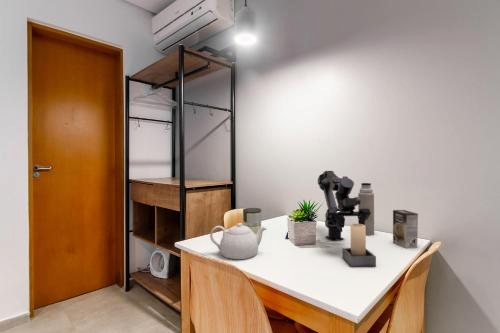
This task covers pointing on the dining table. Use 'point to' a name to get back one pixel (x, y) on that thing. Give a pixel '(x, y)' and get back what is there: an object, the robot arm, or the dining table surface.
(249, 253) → the teapot
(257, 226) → the coffee can
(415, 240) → the coffee box
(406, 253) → the dining table surface
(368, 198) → the thermos bottle
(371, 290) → the dining table surface
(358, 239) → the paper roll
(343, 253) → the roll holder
